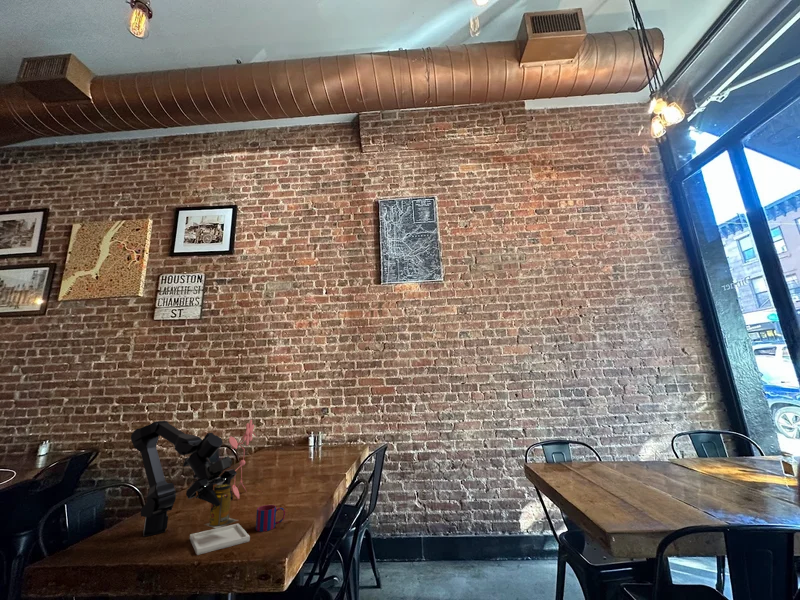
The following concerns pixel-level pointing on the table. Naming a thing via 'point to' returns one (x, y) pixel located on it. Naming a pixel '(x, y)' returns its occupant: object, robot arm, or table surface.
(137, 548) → the table surface
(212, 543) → the tray
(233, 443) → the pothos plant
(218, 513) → the condiment
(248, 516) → the table surface
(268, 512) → the mug
